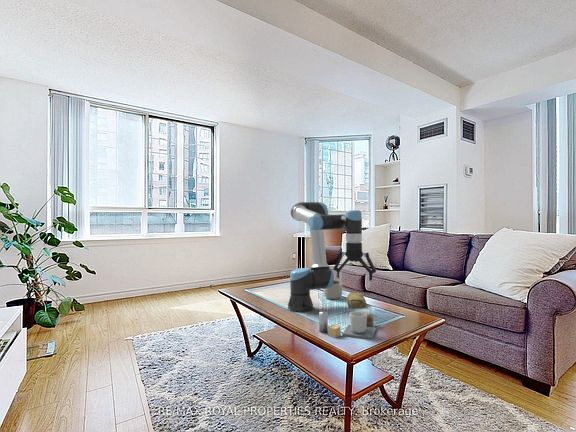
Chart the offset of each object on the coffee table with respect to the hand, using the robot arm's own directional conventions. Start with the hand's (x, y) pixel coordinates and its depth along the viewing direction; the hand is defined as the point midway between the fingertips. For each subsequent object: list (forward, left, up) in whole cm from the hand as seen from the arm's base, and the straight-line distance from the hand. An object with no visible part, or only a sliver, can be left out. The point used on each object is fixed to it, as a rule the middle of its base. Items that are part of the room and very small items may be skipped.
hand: (354, 286), depth 145 cm
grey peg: (-13, -10, -20) cm, 26 cm away
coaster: (+3, -6, -20) cm, 21 cm away
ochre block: (-7, -13, -20) cm, 25 cm away
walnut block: (+5, +5, -20) cm, 21 cm away
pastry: (-7, +39, -21) cm, 45 cm away
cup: (+2, -6, -19) cm, 20 cm away
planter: (-25, +52, -20) cm, 61 cm away
